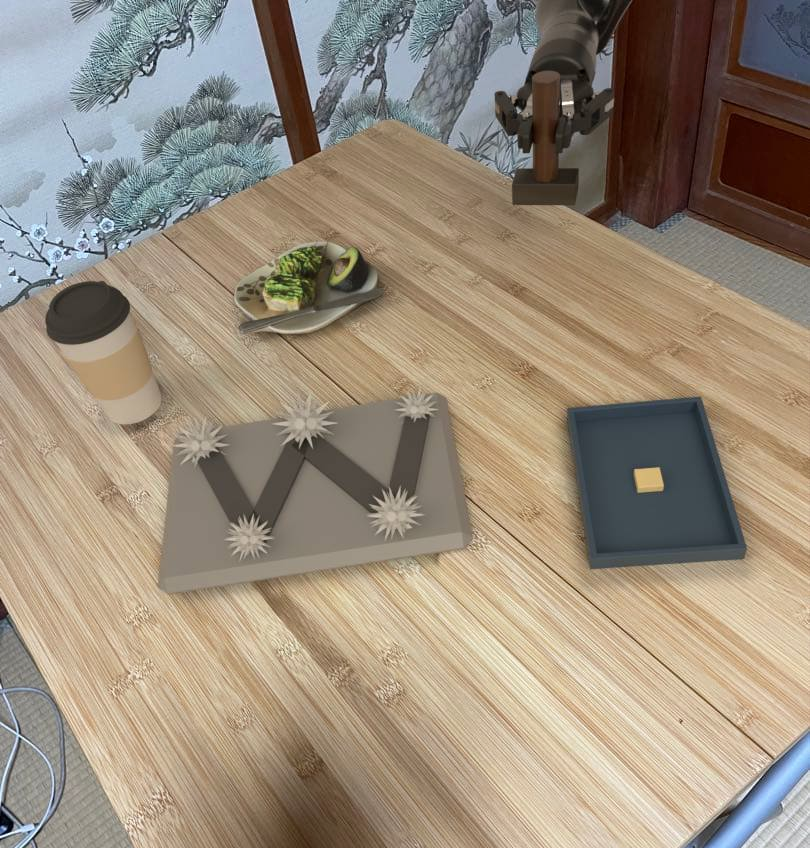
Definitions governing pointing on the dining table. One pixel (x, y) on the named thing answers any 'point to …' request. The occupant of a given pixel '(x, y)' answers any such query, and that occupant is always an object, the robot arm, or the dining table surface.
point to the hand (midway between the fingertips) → (542, 144)
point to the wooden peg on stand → (545, 151)
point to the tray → (661, 510)
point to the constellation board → (312, 493)
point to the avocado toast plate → (306, 289)
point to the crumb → (648, 480)
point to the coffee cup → (105, 349)
